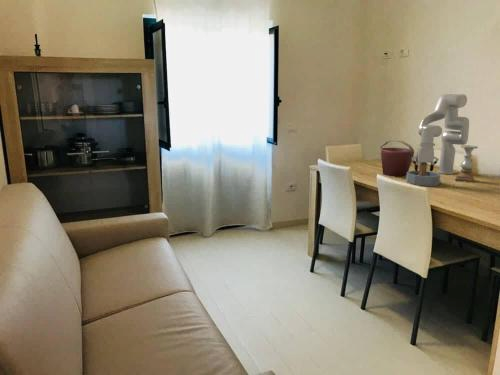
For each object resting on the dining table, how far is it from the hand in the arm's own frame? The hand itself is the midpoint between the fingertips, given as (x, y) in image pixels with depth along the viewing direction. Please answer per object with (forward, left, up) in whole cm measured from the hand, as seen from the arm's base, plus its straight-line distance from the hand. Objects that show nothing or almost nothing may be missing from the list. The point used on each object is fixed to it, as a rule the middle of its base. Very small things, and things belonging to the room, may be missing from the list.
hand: (423, 170), depth 259 cm
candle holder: (-12, +32, -8) cm, 35 cm away
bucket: (-27, -11, -9) cm, 30 cm away
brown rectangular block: (-2, 0, -7) cm, 7 cm away
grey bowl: (0, 0, -8) cm, 8 cm away
